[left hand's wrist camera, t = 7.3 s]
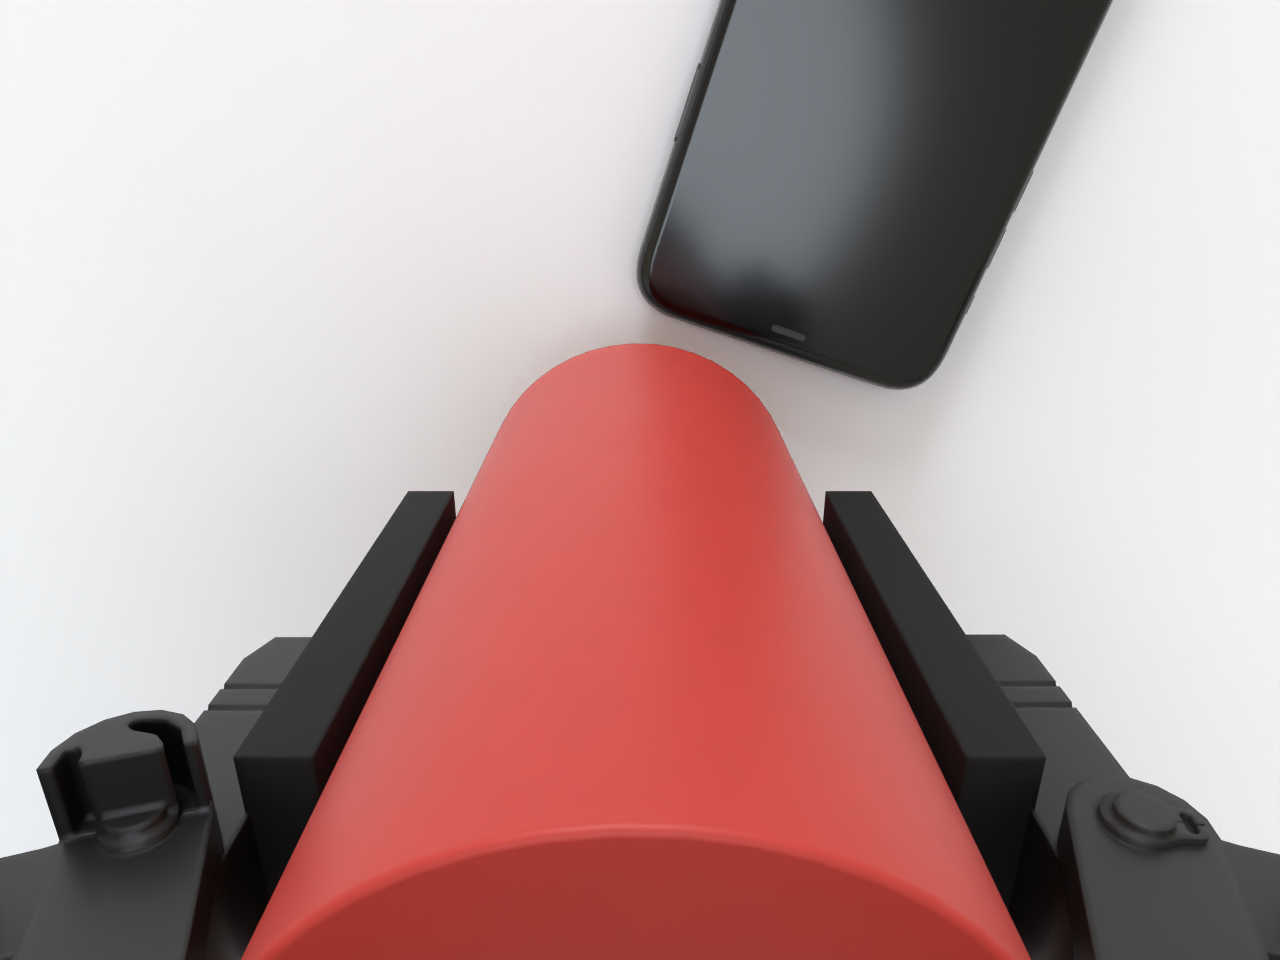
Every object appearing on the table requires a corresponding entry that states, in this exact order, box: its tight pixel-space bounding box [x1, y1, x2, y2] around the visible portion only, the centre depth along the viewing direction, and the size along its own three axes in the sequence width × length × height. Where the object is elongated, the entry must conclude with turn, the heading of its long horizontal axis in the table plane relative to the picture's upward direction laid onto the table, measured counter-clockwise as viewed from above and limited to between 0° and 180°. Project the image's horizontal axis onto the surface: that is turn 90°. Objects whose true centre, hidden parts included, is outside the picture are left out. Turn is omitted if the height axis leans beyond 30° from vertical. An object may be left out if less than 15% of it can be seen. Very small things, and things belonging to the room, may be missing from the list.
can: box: [241, 344, 1031, 960], centre depth 12 cm, size 6×6×12 cm
